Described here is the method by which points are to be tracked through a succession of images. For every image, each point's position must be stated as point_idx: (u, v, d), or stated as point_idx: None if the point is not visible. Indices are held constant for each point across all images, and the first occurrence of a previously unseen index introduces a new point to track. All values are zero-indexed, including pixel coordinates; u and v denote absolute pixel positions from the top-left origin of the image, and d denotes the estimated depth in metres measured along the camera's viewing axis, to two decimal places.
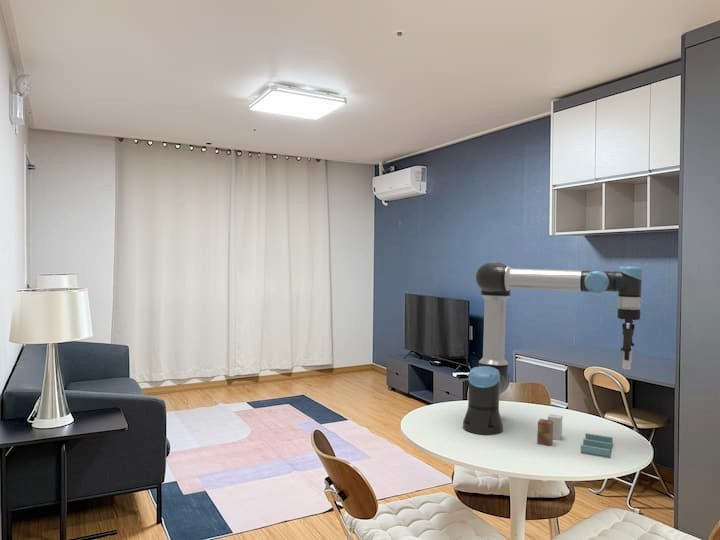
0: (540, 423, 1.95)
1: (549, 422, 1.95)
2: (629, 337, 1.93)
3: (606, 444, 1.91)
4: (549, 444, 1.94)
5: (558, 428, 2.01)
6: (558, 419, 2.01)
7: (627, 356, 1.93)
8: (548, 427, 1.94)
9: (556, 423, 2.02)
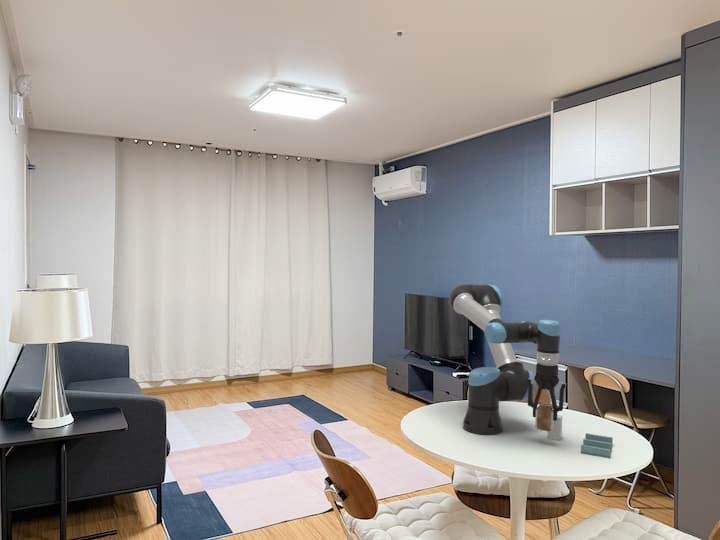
0: (540, 408, 1.96)
1: (549, 407, 1.96)
2: None
3: (606, 444, 1.91)
4: (548, 429, 1.95)
5: (558, 428, 2.01)
6: (558, 419, 2.01)
7: None
8: (548, 412, 1.94)
9: (556, 423, 2.01)
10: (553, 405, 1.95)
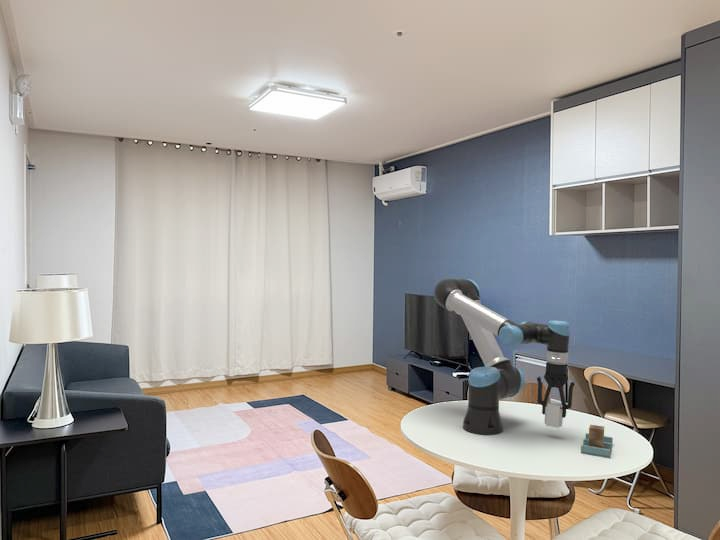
0: (591, 429, 1.88)
1: (601, 428, 1.88)
2: None
3: (606, 444, 1.91)
4: None
5: (557, 416, 2.02)
6: (557, 407, 2.01)
7: None
8: (600, 433, 1.86)
9: (555, 411, 2.02)
10: (562, 403, 2.02)
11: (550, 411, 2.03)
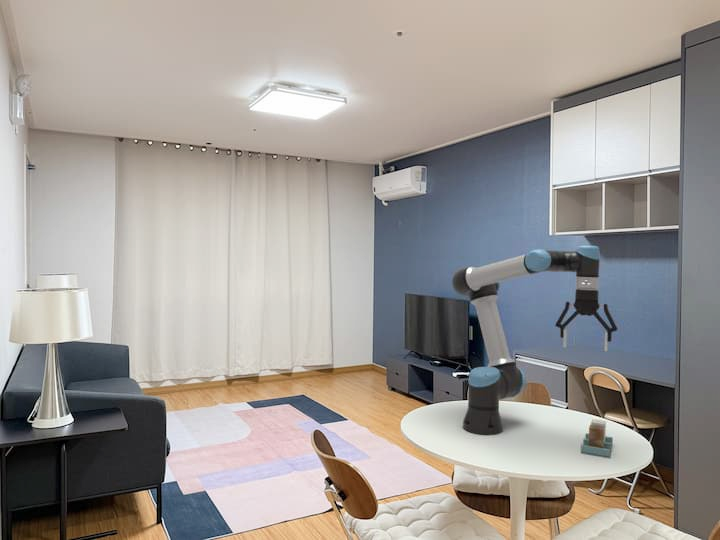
0: (591, 429, 1.88)
1: (601, 428, 1.88)
2: (561, 314, 1.97)
3: (606, 444, 1.91)
4: None
5: None
6: (602, 425, 1.93)
7: None
8: (600, 433, 1.86)
9: None
10: (605, 327, 1.90)
11: None
